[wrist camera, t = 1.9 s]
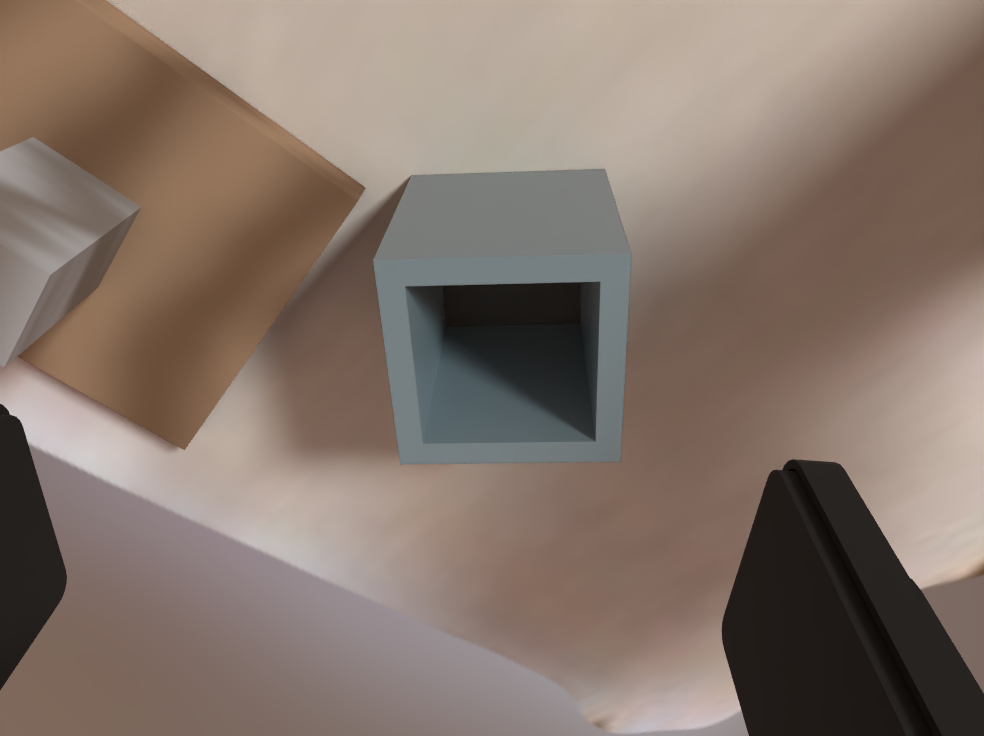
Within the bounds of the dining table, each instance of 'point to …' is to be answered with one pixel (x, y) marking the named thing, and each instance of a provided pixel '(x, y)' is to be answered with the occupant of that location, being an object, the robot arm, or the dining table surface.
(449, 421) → the duct sleeve
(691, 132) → the dining table surface
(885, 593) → the robot arm
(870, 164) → the dining table surface
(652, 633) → the dining table surface
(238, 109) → the base
